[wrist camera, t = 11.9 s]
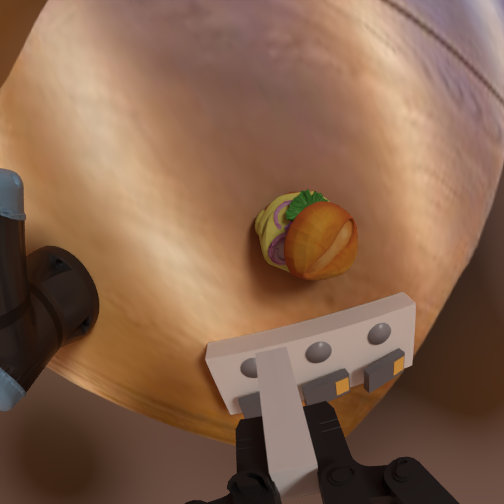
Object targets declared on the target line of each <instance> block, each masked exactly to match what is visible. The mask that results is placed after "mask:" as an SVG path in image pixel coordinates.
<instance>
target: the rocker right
mask: <svg viewBox="0 0 504 504" xmlns="http://www.w3.org/2000/svg"><path fill="white" fill-rule="evenodd" d="M404 358H405V352H404V351H402V350H401V349H400V348H398V349H397V350H395V351H394V352H392V353H391V354H389V355H387V356H386V357H384V358H382V359H381V360H379V361H377V362H376V363H374V364H372V365H371V366H369V367H367V368H366V369H364V389H365V390H366V391H367V392H369V393H370V392H372V391H374V390H375V389H377V388H378V387H380V386H382V385H383V384H385V383H386V382H388V381H389V380H391V379H393V378H394V377H396V376H397V375H399V374H400V373H402V372H403V371H404Z"/></svg>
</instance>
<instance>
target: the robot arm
mask: <svg viewBox="0 0 504 504" xmlns="http://www.w3.org/2000/svg"><path fill="white" fill-rule="evenodd" d="M25 220H26V215H25V213H24V187H23V182H22V179H21V178H20V176H19V175H18V174H17V173H16V172H14V171H11V170H7V169H1V168H0V411H8V410H10V409H12V408H13V407H14V406H15V405H16V404H17V403H18V401H19V400H20V399H21V398H22V397H25V395H26V392H27V391H28V389H29V388H30V387H31V385H32V384H33V383H34V381H35V379H36V378H37V377H38V376H39V374H40V373H41V372H42V370H43V369H44V368H45V366H46V365H47V364H48V362H49V361H50V360H51V358H52V357H53V356H54V355H55V353H56V352H57V351H58V350H59V348H61V347H63V346H65V345H67V344H69V343H71V342H74V341H76V340H78V339H80V338H82V337H83V336H84V335H86V334H87V333H88V331H89V330H90V329H91V328H92V326H93V325H94V324H95V322H96V320H97V317H98V313H99V299H98V293H97V290H96V287H95V284H94V282H93V280H92V278H91V276H90V274H89V272H88V271H87V269H86V268H85V267H84V265H83V264H82V263H81V262H80V261H79V260H78V259H77V258H76V257H75V256H74V255H72V254H71V253H69V252H68V251H66V250H64V249H62V248H59V247H55V246H45V247H42V248H39V249H37V250H36V251H34V252H32V253H31V254H29V255H28V256H27V257H26V253H25ZM255 357H256V366H257V375H258V383H259V392H260V401H261V410H262V416H259V417H254V418H248V419H241V420H240V421H239V424H238V426H237V428H236V460H237V474H235V475H234V476H232V478H231V479H230V480H229V481H228V485H227V489H228V490H229V491H230V493H229V494H228V495H227V496H224V497H222V498H220V499H217V500H214V501H211V502H208V503H207V502H204V501H201V500H193V501H189V502H187V503H185V504H282V503H281V500H287V499H292V498H298V497H302V496H307V495H312V494H316V493H321V497H322V501H323V504H459V503H458V502H457V501H456V499H454V497H452V495H451V494H450V493H449V492H448V491H447V490H446V489H445V488H444V487H443V486H442V485H441V484H440V483H439V482H438V481H437V480H436V479H435V478H434V477H433V476H432V475H431V474H430V473H429V472H428V471H427V470H426V469H425V468H424V467H423V466H422V465H421V464H420V462H418V461H417V460H415V459H414V458H411V457H400V458H397V459H395V460H393V461H392V462H391V463H390V464H389V465H383V466H364V465H361V464H359V463H357V462H356V461H355V460H354V459H353V458H352V456H351V454H350V451H349V448H348V446H347V443H346V440H345V437H344V434H343V432H342V429H341V427H340V424H339V421H338V418H337V415H336V413H335V410H334V408H333V407H332V406H331V405H330V404H329V403H327V402H326V401H323V402H319V403H316V404H312V405H308V406H304V407H302V403H301V399H300V395H299V391H298V388H297V384H296V380H295V376H294V373H293V369H292V365H291V362H290V358H289V354H288V350H287V347H286V346H285V347H281V348H277V349H272V350H268V351H263V352H258V353H255Z"/></svg>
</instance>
